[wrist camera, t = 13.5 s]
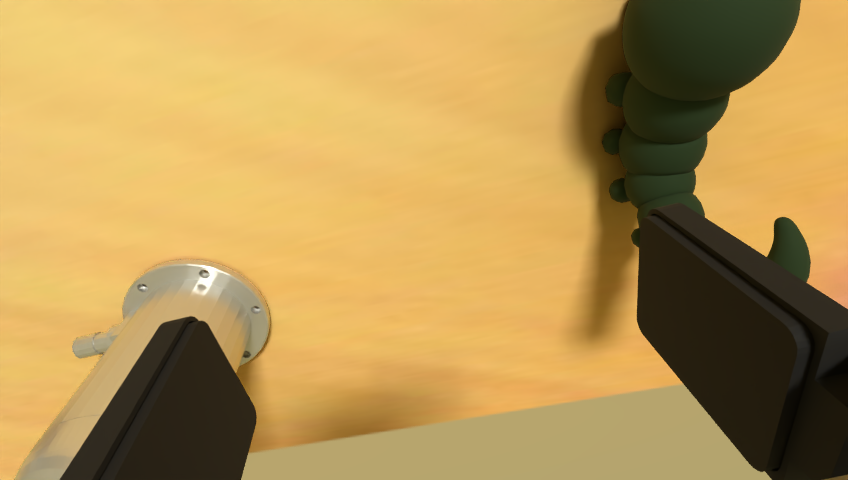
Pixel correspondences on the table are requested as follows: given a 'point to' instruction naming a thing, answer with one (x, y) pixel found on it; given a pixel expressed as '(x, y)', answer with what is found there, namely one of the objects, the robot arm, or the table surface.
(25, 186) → the table surface
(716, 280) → the robot arm
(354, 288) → the table surface
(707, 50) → the toy figurine
